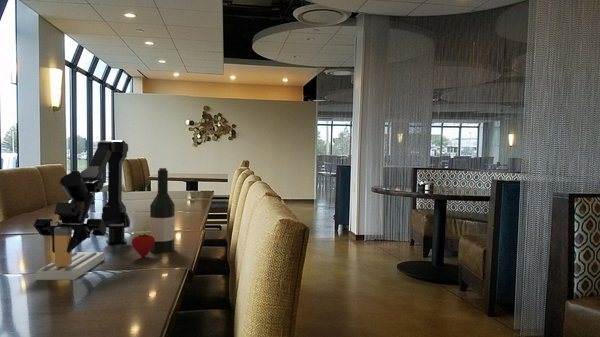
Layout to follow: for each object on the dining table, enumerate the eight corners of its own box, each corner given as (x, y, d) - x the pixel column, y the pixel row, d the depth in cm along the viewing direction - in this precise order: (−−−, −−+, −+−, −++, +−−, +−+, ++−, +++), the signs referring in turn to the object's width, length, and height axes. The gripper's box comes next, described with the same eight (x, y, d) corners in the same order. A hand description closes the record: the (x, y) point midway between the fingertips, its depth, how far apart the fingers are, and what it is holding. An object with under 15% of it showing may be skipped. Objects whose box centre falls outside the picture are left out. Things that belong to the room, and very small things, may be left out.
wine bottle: (178, 248, 146) (179, 168, 145) (164, 254, 138) (164, 169, 137) (160, 246, 149) (160, 167, 147) (144, 251, 141) (145, 168, 140)
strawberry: (129, 256, 134) (129, 227, 134) (151, 253, 139) (151, 225, 138) (134, 260, 129) (134, 230, 129) (157, 257, 134) (157, 228, 134)
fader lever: (59, 263, 115) (58, 226, 114) (72, 263, 115) (71, 226, 114) (54, 266, 112) (54, 228, 111) (67, 266, 112) (67, 228, 112)
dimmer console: (72, 259, 129) (72, 250, 129) (104, 259, 130) (104, 250, 130) (36, 279, 109) (36, 268, 109) (74, 279, 110) (74, 268, 110)
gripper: (36, 191, 116) (12, 236, 105) (102, 192, 117) (85, 237, 107) (51, 213, 124) (30, 257, 113) (112, 213, 125) (98, 257, 115)
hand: (60, 252), depth 112 cm, fingers closed on fader lever, 3 cm apart
